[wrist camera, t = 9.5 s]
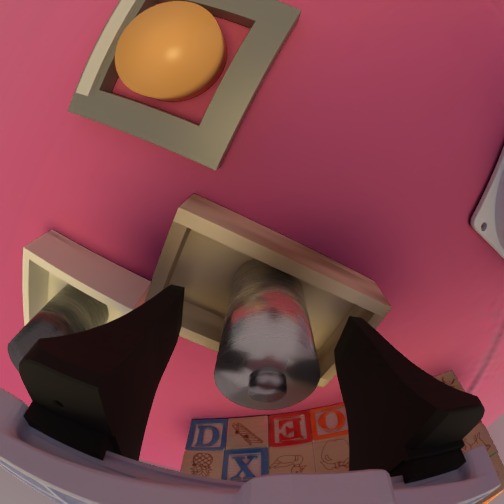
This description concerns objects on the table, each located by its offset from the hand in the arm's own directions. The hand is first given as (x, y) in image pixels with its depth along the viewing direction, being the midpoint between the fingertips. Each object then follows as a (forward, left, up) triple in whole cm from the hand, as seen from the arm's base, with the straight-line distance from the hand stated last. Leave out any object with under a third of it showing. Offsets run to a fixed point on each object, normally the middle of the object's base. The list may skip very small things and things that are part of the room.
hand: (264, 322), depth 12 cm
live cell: (0, 0, -2) cm, 2 cm away
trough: (0, 0, -3) cm, 3 cm away
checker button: (+8, -8, -3) cm, 12 cm away
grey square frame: (+8, -8, -3) cm, 12 cm away
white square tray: (+9, +6, -3) cm, 11 cm away
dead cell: (+9, +6, -2) cm, 11 cm away
